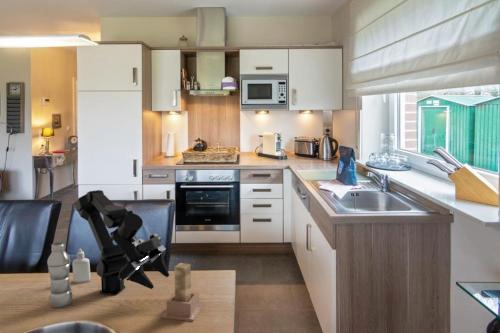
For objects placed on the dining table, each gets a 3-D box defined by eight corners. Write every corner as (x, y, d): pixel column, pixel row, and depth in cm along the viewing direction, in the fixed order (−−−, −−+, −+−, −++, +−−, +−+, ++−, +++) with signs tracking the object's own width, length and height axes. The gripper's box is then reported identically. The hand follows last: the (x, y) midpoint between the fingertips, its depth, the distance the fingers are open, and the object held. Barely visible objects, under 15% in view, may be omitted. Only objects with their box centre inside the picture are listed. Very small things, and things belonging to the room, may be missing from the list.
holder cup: (161, 317, 121) (160, 303, 120) (174, 302, 131) (173, 288, 130) (193, 321, 119) (193, 306, 118) (204, 305, 129) (203, 291, 128)
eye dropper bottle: (84, 284, 145) (83, 251, 143) (71, 282, 146) (69, 250, 144) (92, 279, 149) (90, 247, 147) (79, 277, 150) (77, 246, 149)
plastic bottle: (77, 302, 131) (74, 241, 128) (61, 311, 125) (57, 248, 122) (61, 298, 133) (58, 239, 130) (45, 308, 127) (41, 246, 124)
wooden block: (175, 311, 124) (174, 267, 122) (181, 306, 127) (180, 262, 125) (185, 313, 123) (185, 268, 121) (191, 307, 126) (190, 264, 124)
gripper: (126, 236, 117) (160, 278, 115) (160, 220, 135) (190, 256, 133) (104, 259, 121) (137, 300, 119) (140, 240, 138) (169, 276, 136)
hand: (160, 282), depth 126 cm, fingers open, 9 cm apart
